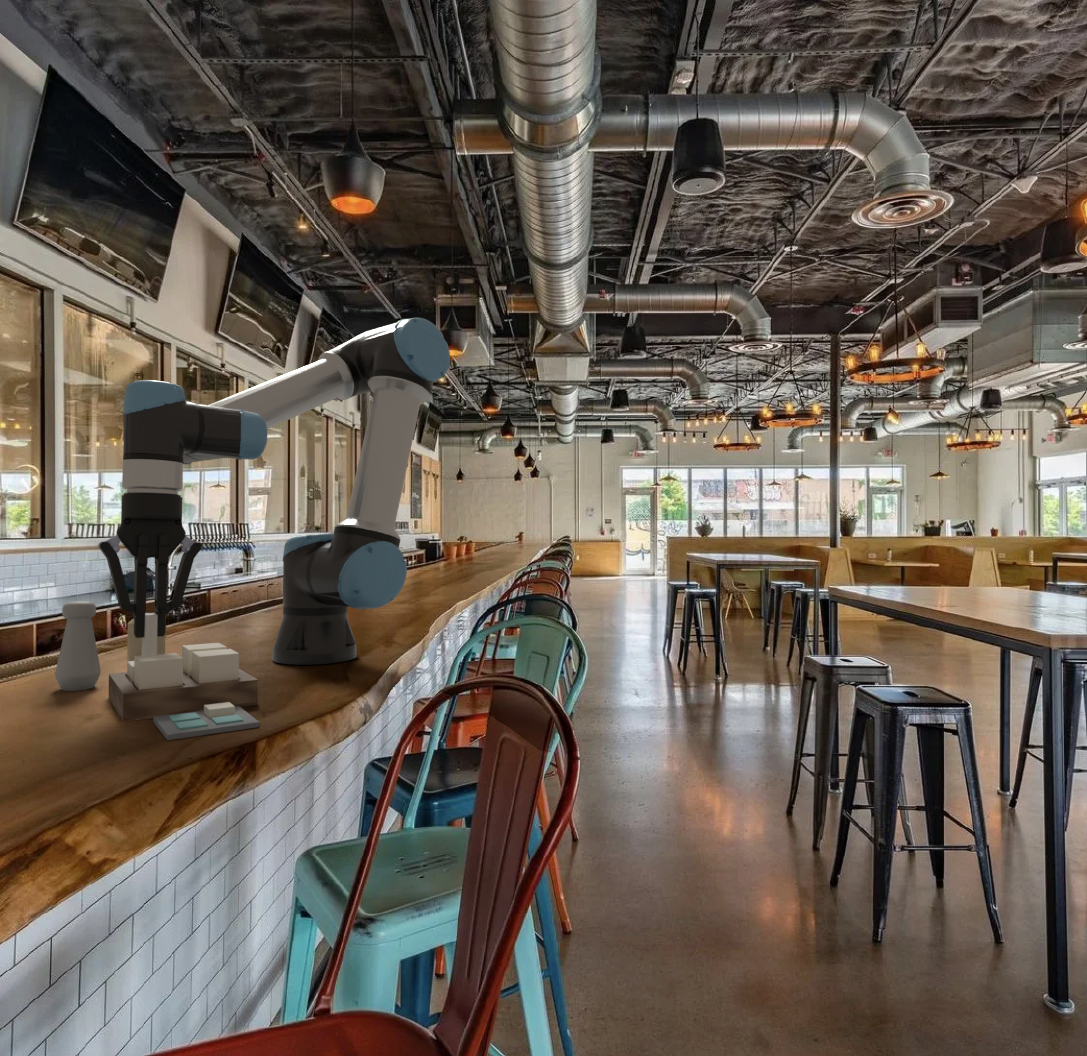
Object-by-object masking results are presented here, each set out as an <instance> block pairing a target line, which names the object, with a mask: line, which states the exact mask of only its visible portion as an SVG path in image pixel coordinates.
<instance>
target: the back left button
mask: <svg viewBox="0 0 1087 1056" xmlns="http://www.w3.org/2000/svg"><path fill="white" fill-rule="evenodd" d="M221 649H228V646H225V644H222V643H220V642H212V643H211V642H210V643H199V644H186V645H185V644H184V645H181V657H182V658H183V672H184V673H185V674H187V675H192V652H196V651H208V650H221Z"/></svg>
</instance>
